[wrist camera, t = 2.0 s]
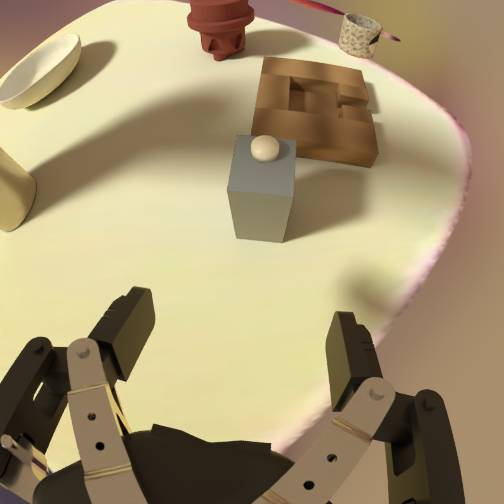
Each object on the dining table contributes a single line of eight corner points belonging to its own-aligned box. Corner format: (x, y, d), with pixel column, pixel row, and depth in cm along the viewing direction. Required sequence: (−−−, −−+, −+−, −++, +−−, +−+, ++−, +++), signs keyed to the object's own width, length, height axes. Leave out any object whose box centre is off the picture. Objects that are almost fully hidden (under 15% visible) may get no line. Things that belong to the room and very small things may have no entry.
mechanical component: (219, 74, 36) (182, 54, 38) (267, 51, 38) (228, 33, 40) (210, 5, 24) (169, -5, 27) (268, -12, 26) (223, -22, 28)
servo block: (236, 238, 28) (225, 184, 18) (242, 193, 30) (236, 128, 20) (282, 243, 28) (294, 190, 18) (285, 198, 29) (297, 133, 20)
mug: (373, 62, 38) (382, 34, 31) (336, 51, 38) (342, 21, 32) (373, 40, 40) (381, 15, 34) (341, 30, 41) (346, 5, 35)
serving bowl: (65, 107, 36) (48, 81, 30) (-2, 132, 37) (-19, 114, 30) (104, 44, 42) (94, 22, 36) (37, 70, 43) (26, 52, 36)
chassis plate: (251, 152, 31) (250, 135, 28) (263, 72, 36) (264, 56, 33) (370, 168, 31) (378, 153, 28) (356, 84, 35) (361, 70, 32)
